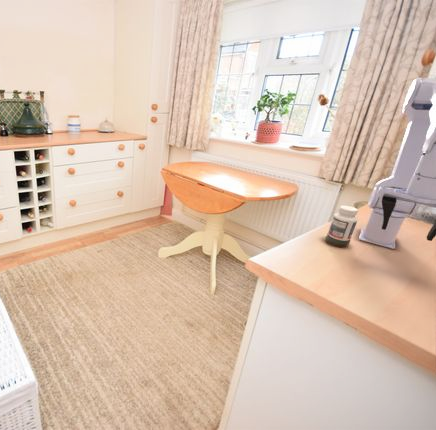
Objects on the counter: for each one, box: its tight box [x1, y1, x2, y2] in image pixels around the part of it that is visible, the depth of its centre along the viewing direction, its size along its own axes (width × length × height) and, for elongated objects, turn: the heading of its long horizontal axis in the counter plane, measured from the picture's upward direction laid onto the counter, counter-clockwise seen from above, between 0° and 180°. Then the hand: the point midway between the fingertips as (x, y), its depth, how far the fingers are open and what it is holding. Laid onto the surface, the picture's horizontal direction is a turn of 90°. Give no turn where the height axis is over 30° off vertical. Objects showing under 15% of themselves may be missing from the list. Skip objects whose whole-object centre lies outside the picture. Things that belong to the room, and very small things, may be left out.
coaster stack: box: [324, 232, 351, 249], centre depth 83 cm, size 6×6×2 cm
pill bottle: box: [327, 205, 359, 241], centre depth 81 cm, size 5×5×9 cm
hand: (405, 233), depth 66 cm, fingers open, 7 cm apart
